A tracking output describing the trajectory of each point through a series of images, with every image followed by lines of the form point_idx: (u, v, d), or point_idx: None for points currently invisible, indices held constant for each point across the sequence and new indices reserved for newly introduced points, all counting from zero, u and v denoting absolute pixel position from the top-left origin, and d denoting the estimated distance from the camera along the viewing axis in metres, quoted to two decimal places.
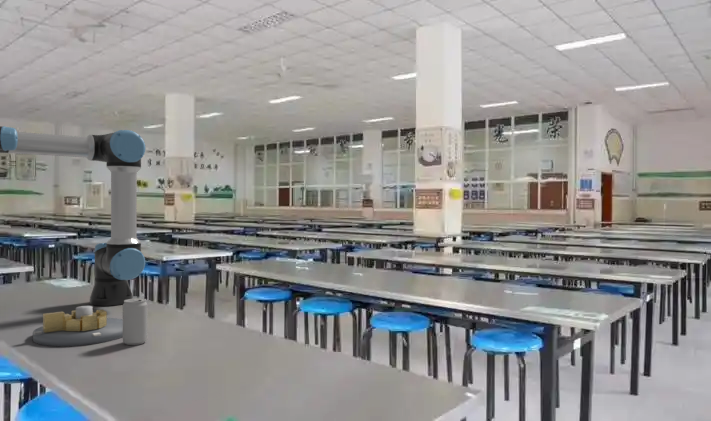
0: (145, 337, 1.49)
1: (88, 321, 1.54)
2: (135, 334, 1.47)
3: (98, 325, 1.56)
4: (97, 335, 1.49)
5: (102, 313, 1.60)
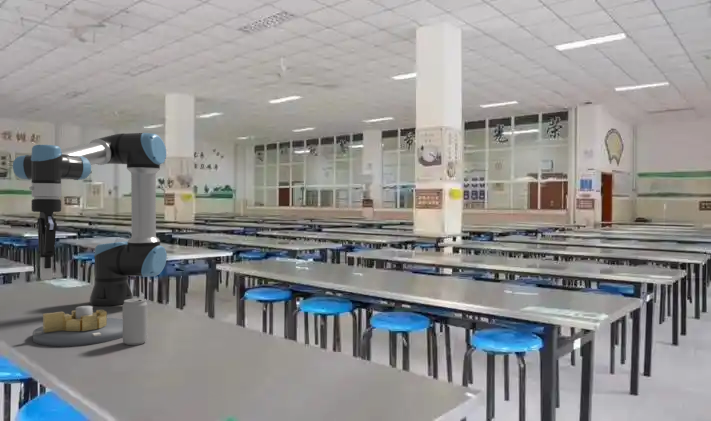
0: (145, 337, 1.49)
1: (88, 321, 1.54)
2: (135, 334, 1.47)
3: (98, 325, 1.56)
4: (97, 335, 1.49)
5: (102, 313, 1.60)
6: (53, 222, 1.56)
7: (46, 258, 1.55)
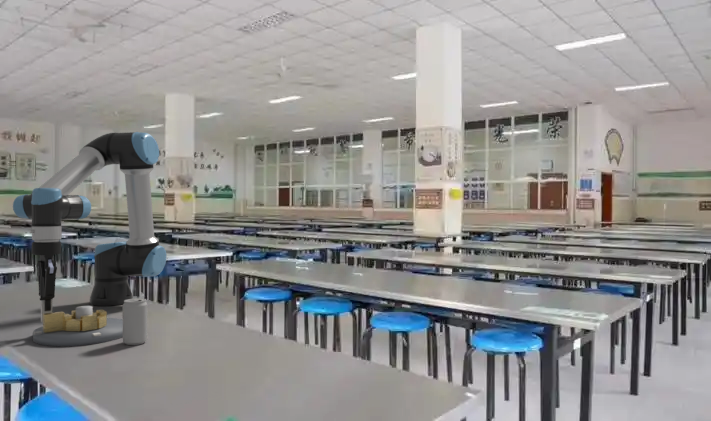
0: (145, 337, 1.49)
1: (88, 321, 1.54)
2: (135, 334, 1.47)
3: (98, 325, 1.56)
4: (97, 335, 1.49)
5: (102, 313, 1.60)
6: (53, 265, 1.57)
7: (46, 301, 1.56)
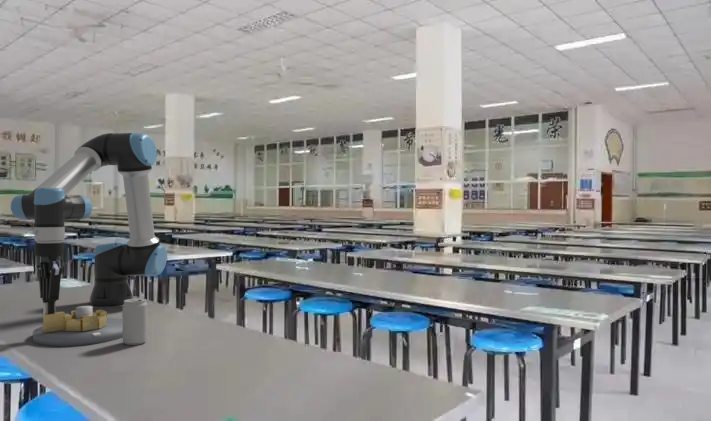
0: (145, 337, 1.49)
1: (88, 321, 1.54)
2: (135, 334, 1.47)
3: (98, 325, 1.57)
4: (97, 335, 1.49)
5: (102, 313, 1.60)
6: None
7: (50, 303, 1.52)
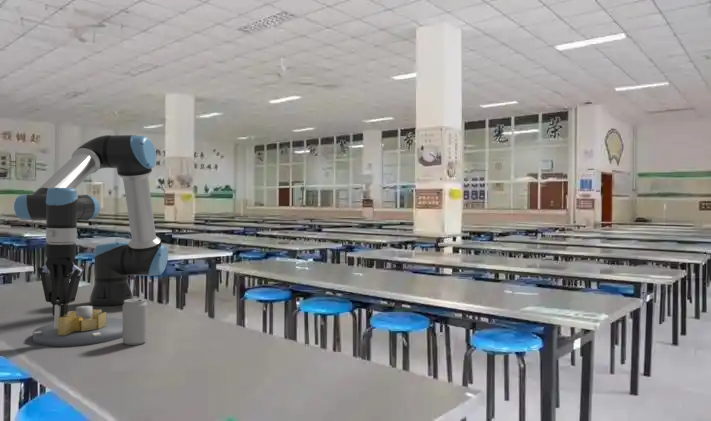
0: (145, 337, 1.49)
1: (101, 318, 1.58)
2: (135, 334, 1.47)
3: None
4: (97, 335, 1.49)
5: (99, 311, 1.63)
6: None
7: (64, 305, 1.49)
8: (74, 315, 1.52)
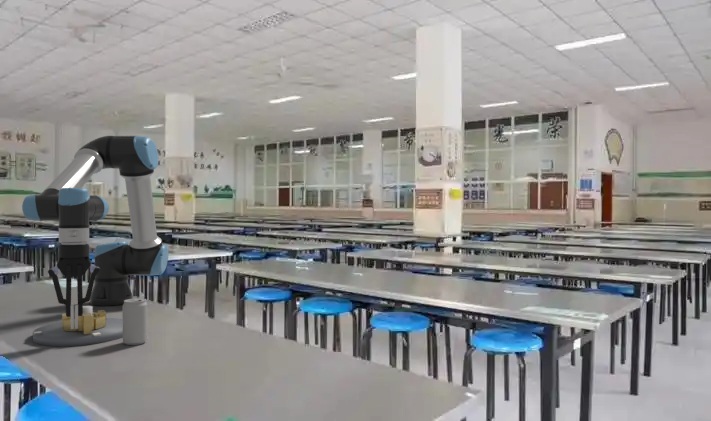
0: (145, 337, 1.49)
1: None
2: (135, 334, 1.47)
3: None
4: (97, 335, 1.49)
5: None
6: None
7: (82, 305, 1.51)
8: (90, 314, 1.54)
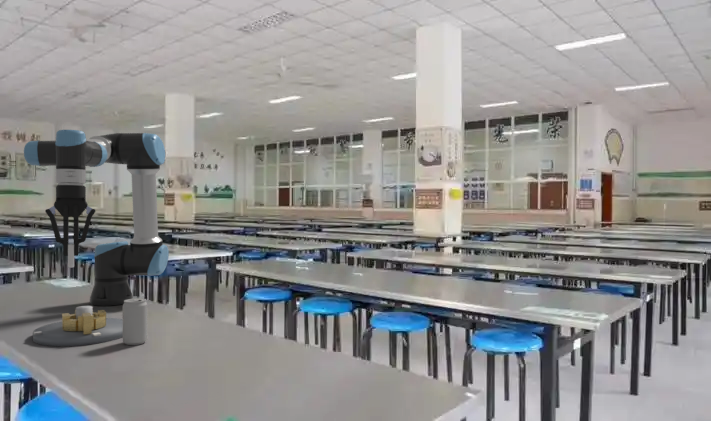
0: (145, 337, 1.49)
1: None
2: (135, 334, 1.47)
3: None
4: (97, 335, 1.49)
5: None
6: None
7: (78, 245, 1.55)
8: (90, 314, 1.54)
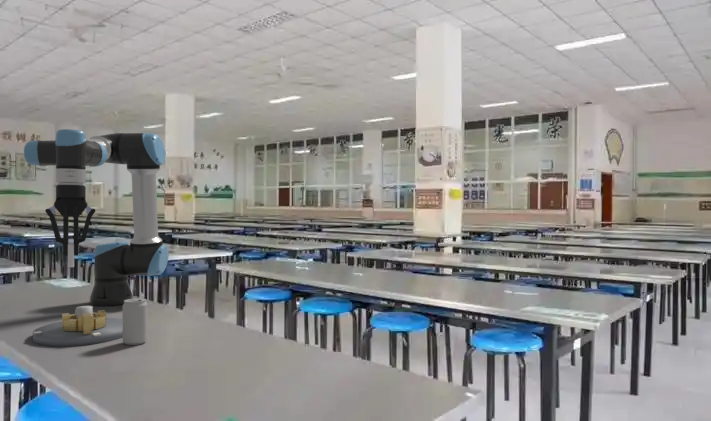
0: (145, 337, 1.49)
1: None
2: (135, 334, 1.47)
3: None
4: (97, 335, 1.49)
5: None
6: None
7: (78, 244, 1.55)
8: (90, 314, 1.54)
